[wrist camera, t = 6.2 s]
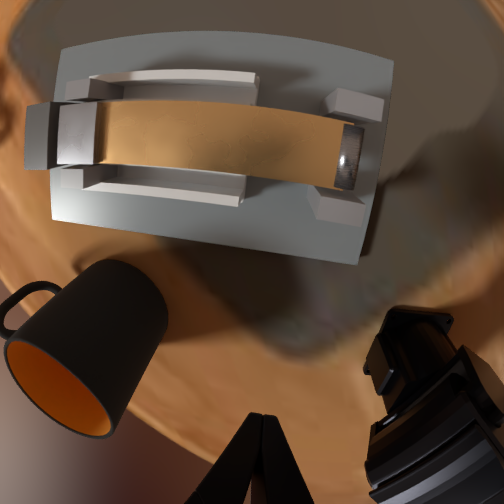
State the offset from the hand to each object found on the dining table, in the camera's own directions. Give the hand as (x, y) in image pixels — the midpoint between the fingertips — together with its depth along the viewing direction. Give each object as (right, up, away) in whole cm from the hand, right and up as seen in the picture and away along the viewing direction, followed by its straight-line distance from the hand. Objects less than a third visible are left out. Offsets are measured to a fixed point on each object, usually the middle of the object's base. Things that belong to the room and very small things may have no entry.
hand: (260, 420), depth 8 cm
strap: (-3, +11, +5) cm, 12 cm away
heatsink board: (-4, +12, +9) cm, 16 cm away
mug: (-12, +2, +14) cm, 19 cm away
